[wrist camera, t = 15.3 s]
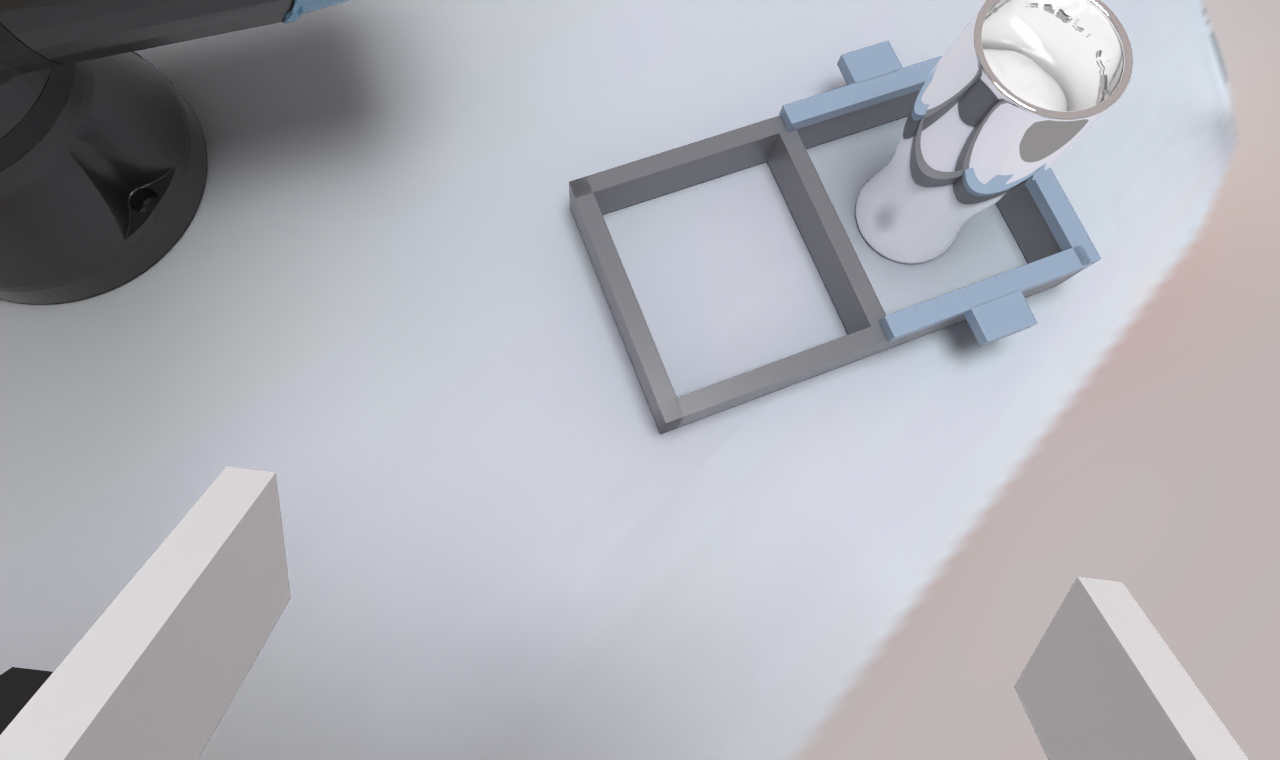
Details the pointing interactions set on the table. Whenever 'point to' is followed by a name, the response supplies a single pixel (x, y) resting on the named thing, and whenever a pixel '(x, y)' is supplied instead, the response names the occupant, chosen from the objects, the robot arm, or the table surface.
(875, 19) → the table surface
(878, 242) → the drinking glass
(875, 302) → the open frame
